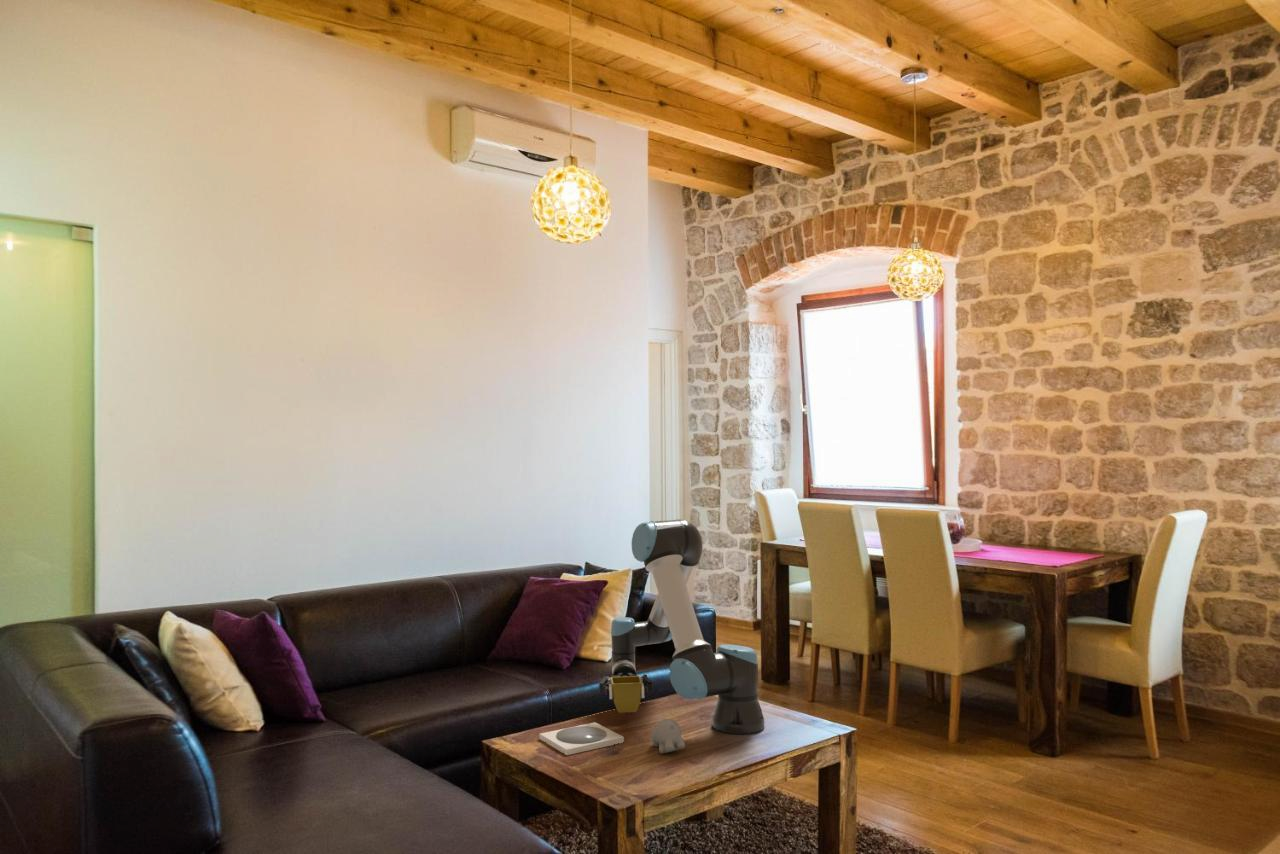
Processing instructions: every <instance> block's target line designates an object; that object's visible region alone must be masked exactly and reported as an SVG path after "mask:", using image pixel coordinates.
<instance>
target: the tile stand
mask: <svg viewBox="0 0 1280 854" xmlns="http://www.w3.org/2000/svg"><path fill="white" fill-rule="evenodd" d="M539 740H541V741H542V742H544V743H545V742H546V743H545V744H547V745H549V746H550V747H551V748H553V749H555V750H557V751H558V752H560V753H562V754H563V753H564V754H563V755H566V756H569V755H574V754H578V753H583V752H586V751H591V750H596V749H600V748H605V747H611V746H615V745H619V744H624V743H625V736H623V735H621V734H619V733H617V732H615V731H614V730H611V729H609V728H607V727H605V726H604V725H601V724H599V723H597V722H595V721H594V722H590V723H584V724H580V725H575V726H571V727H566V728H565V727H564V728H561V729H556V730H551V731H546V732H541V733H539ZM623 742H624V743H623ZM618 743H619V744H618ZM614 744H615V745H614Z"/></svg>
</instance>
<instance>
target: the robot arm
mask: <svg viewBox="0 0 1280 854" xmlns="http://www.w3.org/2000/svg"><path fill="white" fill-rule="evenodd" d="M703 548H704V547H703V538H702V535H701V533H700V531H699V529H698V528H697V527H696V526H695V525H694V524H693V523H692V522H690V521H688V520H685V519H672V520H658V521H657V520H655V521H654V520H650V521H645V522H640V523H639V524H638V525H637V526H636V527H635V528H634V531H633V533H632V537H631V552H632V555H633V557H634V559H636V561H638V562H640V563H642V562H643V564H644V567H645V570H646V571H647V572H649V573H651V574H652V577H653V579H654V583H655V586H656V591H657V594H656V598H655V600H654V603H653V606H652V608H651V611H650V614H649V616H648V618H647V620H646V621H638V622H635V619H634V618H632V617H627V616H625V617H616V618H614V619H613V620H612V621H611V626H610V627H611V630H610V635H611V671H612V676H611V677H626V676H639V674H637V670H636V669H637V668H636V647H641V646H646V645H654V644H655V645H656V644H662V643H665V642H669V641H671V640H672V642H673V646H674V649H675V651H674V652H673V655H672V657H671V658H672V662H671V663H670V665H669V671H670V672H669V674H668V675H669V680H670V683H671V685H672V687H673V689H674V690H675V692H676V693H677V695H678V696H680V697H681V698H682V699H683V700H684V699H685V700H687V701H693V700H702V699H704V698H709V697H714V696H717V701H716V705H715V708H714V714H713V715H712V719H711V720H712V722H711V723H712V728H714V729H715V730H716V731H719V732H722V733H727V734H731V735H732V734H734V735H744V734H746V735H747V734H754V733H758V732H760V731H762V730H764V728H765V717H764V713H763V712H762V708H761V704H760V702H759V682H758V681H759V679H758V678H759V673H758V672H759V670H758V669H759V667H758V666H759V661H758V653H757V651H756V650H755V649H753V648H751V647H750V646H749V647H748V646H743V645H737V644H719V645H718V646H717V649H716V651H717V652H714V651H713V648H712V645H711V644H710V643H709V642H707V641H706V640H705V639H704V636H703V633H702V631H701V627H700V625H699V621H698V618H697V615H696V612H695V609H694V608H695V607H694V605H693V603H692V599H691V596H690V593H689V590H688V587H687V584H688V581H689V580H690V576H691V573H692V571H693V568H694V567H696V566H698V564H699V562H700V561H701V558H702V554H703ZM611 677H609V676H607V675H602V679H601V680H600V681H599V683H598V692H599V693H603V692H605V696H609V700H613V694H612V684H611ZM640 679H641V681H642V688H641V699H645V694H646V693H647V694H648V691H649V692H653V691H654V689H653V688H654V684H653V680H652V679H650V678H649V677H648V674H643V675H641V676H640Z"/></svg>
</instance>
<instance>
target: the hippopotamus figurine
mask: <svg viewBox="0 0 1280 854" xmlns="http://www.w3.org/2000/svg"><path fill="white" fill-rule="evenodd" d="M650 730H651V740H650V743H651V745H652V746H653V747H656V748H657V747H658V751H659V754H662V755H663V754H667V753H671V752H676V751H678V750H681V749H684V748H685V747H686V743H685V740H684V738H683V737H682V729H681V726H680V724H679V723H678V722H677V721H676V720H675V719H672V718H664V719H662V720H660V721H659V722H658V723H657V724H656V726H655V728H654V727H653V726H651V727H650Z"/></svg>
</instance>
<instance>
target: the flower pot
mask: <svg viewBox="0 0 1280 854" xmlns="http://www.w3.org/2000/svg"><path fill="white" fill-rule="evenodd" d="M640 677H641V676H640V675H638V676H626V677H612V676H611V677H610V678H611V684H612V699H613V703H614V706H615V708H616V710H617V713H621V714H622V713H636V712H637V710H638V709H639V707H640V703H641V701H642V700H641V699H642V697H641V688H642V681H641V679H640Z"/></svg>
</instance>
